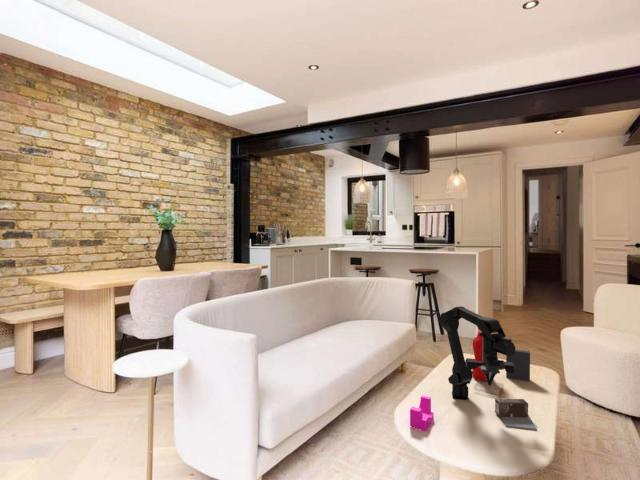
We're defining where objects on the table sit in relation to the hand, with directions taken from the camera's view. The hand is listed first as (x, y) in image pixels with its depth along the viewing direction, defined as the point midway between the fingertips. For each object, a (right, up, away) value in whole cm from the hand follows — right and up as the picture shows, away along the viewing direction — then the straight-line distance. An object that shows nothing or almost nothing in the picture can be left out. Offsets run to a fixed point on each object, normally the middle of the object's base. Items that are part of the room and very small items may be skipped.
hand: (489, 385), depth 158 cm
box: (+2, -9, -2) cm, 9 cm away
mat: (+9, -12, -5) cm, 16 cm away
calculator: (+32, -12, +38) cm, 51 cm away
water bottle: (+13, -12, +39) cm, 43 cm away
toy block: (-30, -13, -6) cm, 33 cm away
